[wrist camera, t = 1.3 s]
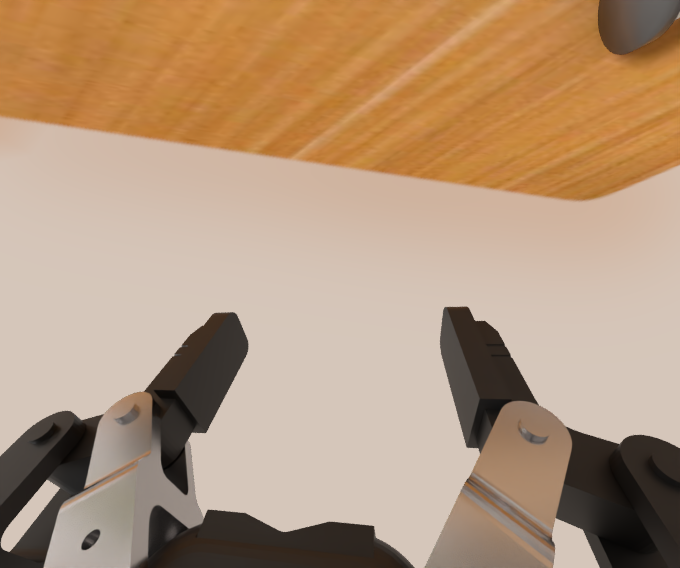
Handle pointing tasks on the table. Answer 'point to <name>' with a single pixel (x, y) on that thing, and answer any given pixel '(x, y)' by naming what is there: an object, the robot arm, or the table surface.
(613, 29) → the chassis
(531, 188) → the table surface
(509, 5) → the table surface
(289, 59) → the table surface
